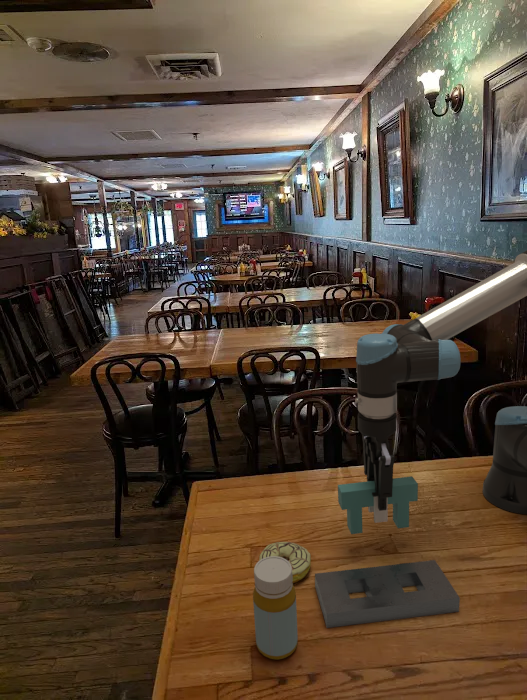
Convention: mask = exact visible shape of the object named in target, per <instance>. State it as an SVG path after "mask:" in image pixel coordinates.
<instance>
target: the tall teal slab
mask: <svg viewBox="0 0 527 700" xmlns="http://www.w3.org/2000/svg"><path fill="white" fill-rule="evenodd" d="M372 492H375V481H367V480H366V481H359V482H352V483H351V482H350V483H344V484H343V483H341V484H337V500H338V501H337V502H338V504H339V507H340V508H341V510H342V511H344V510H346V521H347V522H346V523H347V525H346V526H347V527H348V530H349V533H350V534H351V535H355V534H363V508H368V507H371V506H374V497H373V496H372ZM418 497H419V483H418V481H417V480H416V479H415V478H414V477H413V476H410V475H409V476H402V477H396V478H395V477H393V487H392V497H388V505H392V522H393V523H394V525H395V526H396V528H397V529H404V528H410V502H411V503H412V502H418Z"/></svg>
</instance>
